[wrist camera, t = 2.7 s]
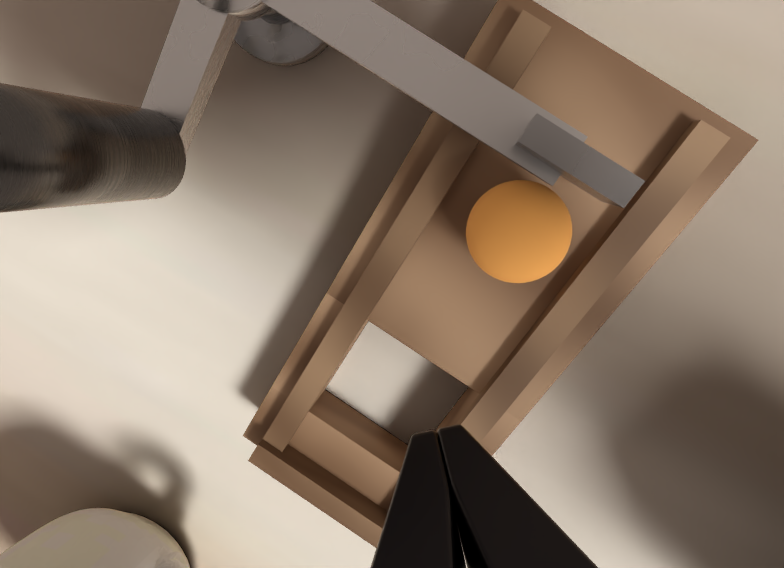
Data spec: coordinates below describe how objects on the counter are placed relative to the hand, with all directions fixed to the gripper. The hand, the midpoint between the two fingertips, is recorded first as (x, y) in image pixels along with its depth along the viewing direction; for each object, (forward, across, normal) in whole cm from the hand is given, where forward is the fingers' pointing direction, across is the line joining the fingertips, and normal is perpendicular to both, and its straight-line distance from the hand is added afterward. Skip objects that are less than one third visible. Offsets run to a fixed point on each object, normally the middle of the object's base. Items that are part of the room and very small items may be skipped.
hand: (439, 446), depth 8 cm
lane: (+11, -2, +4) cm, 12 cm away
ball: (+9, -4, 0) cm, 10 cm away
